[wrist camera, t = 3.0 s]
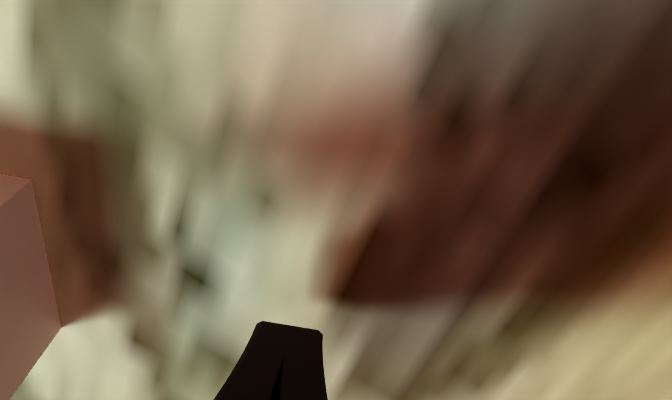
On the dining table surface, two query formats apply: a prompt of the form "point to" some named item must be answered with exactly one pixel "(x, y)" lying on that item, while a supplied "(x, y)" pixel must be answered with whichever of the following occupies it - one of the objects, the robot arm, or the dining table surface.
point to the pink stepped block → (23, 285)
